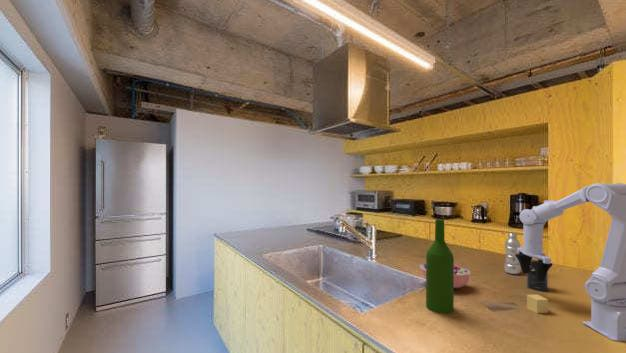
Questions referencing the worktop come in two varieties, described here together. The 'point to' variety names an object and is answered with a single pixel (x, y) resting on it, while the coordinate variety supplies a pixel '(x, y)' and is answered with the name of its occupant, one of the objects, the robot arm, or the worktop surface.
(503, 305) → the walnut base
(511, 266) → the plastic bottle
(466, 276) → the cell model
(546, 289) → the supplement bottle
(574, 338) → the worktop surface
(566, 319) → the worktop surface
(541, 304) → the ochre block
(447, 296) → the wine bottle
